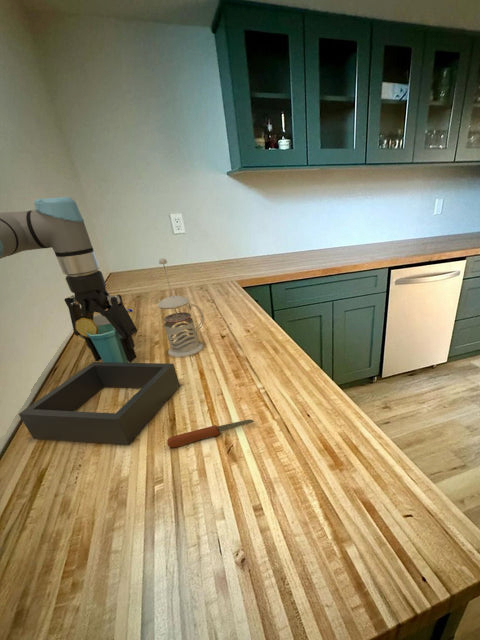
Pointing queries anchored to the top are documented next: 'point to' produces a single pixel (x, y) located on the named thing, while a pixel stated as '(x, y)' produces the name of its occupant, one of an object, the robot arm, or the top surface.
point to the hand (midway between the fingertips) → (116, 359)
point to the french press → (185, 342)
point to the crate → (108, 428)
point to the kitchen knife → (203, 433)
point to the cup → (103, 339)
